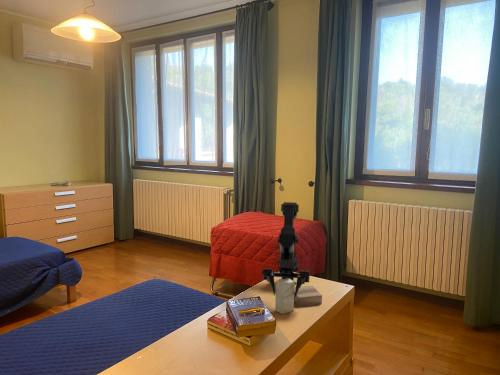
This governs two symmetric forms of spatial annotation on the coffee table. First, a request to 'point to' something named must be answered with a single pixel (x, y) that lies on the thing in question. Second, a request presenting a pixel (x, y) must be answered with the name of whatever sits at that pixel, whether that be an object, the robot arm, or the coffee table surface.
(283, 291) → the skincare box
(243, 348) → the coffee table surface
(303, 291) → the grey square block
